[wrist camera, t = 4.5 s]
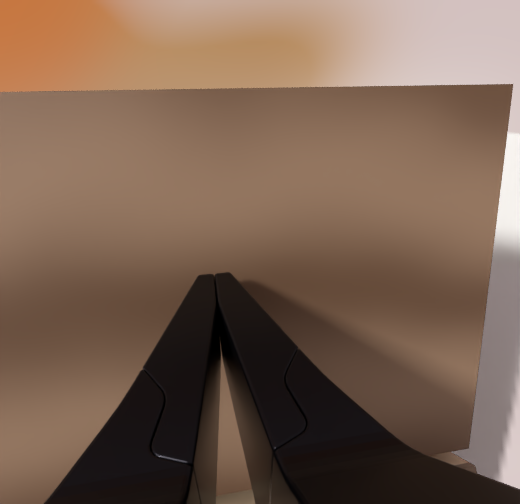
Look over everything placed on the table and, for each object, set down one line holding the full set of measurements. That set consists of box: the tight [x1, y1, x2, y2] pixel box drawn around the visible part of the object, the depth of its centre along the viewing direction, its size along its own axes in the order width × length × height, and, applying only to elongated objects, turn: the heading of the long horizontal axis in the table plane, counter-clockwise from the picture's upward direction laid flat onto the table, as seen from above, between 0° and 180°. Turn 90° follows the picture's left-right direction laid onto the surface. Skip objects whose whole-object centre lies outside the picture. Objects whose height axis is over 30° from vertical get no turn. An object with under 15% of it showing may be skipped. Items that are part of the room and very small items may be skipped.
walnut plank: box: [0, 84, 513, 504], centre depth 11 cm, size 12×17×2 cm
